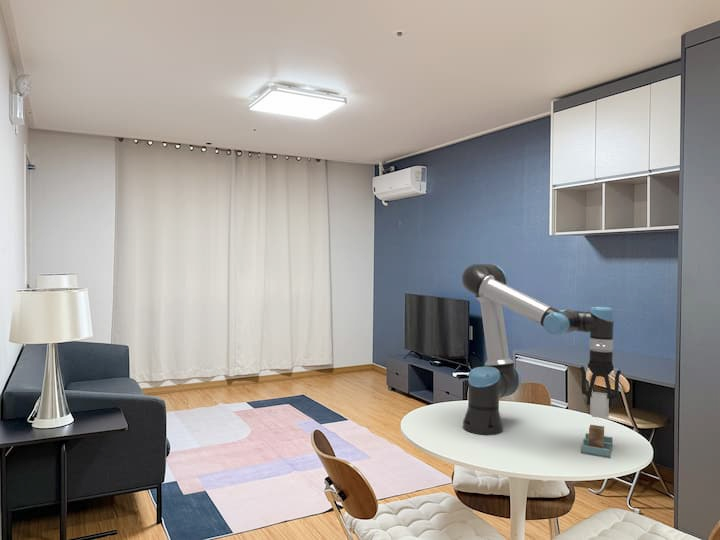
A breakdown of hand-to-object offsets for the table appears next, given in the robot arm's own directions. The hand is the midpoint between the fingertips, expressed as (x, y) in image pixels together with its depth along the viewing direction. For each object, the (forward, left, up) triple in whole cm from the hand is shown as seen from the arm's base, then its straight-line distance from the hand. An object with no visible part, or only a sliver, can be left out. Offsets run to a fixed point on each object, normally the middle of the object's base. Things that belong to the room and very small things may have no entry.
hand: (599, 415), depth 196 cm
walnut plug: (0, -8, -10) cm, 13 cm away
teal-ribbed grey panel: (0, -4, -11) cm, 12 cm away
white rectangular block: (0, 0, 0) cm, 0 cm away
